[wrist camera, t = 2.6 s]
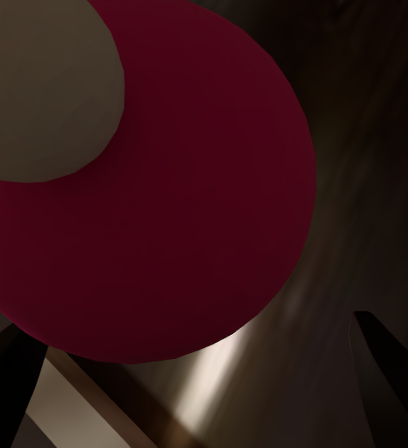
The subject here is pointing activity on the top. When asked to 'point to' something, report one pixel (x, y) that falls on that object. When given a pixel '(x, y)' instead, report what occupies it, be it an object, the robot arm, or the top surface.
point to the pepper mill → (144, 176)
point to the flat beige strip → (79, 409)
